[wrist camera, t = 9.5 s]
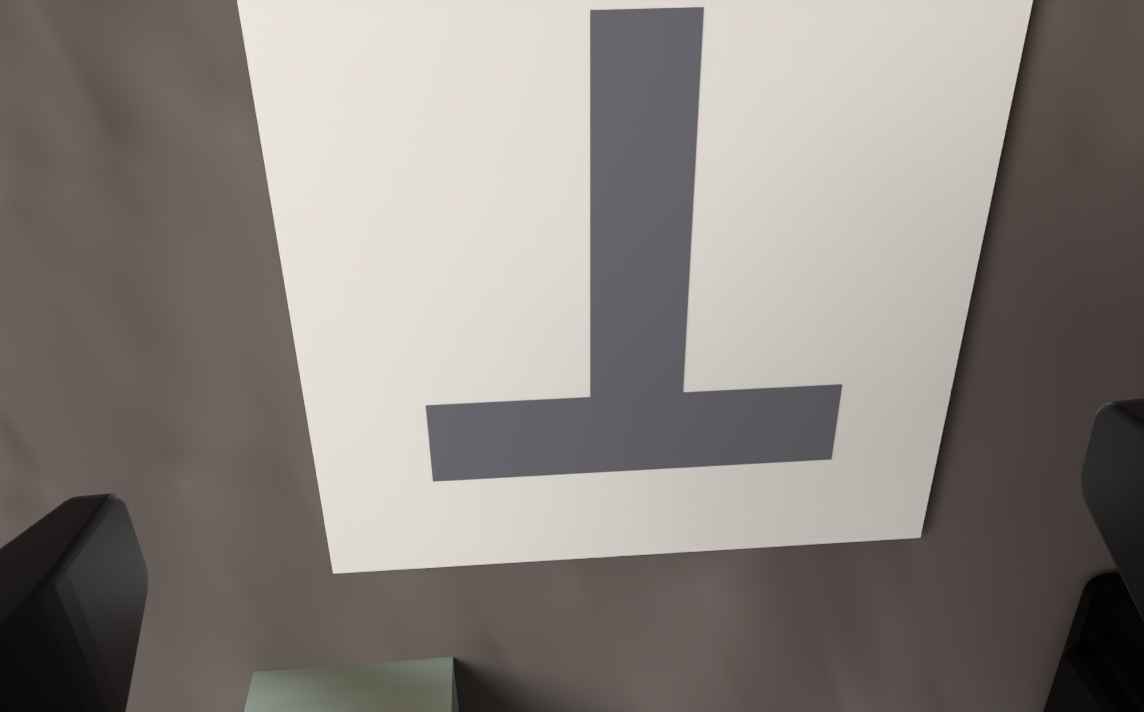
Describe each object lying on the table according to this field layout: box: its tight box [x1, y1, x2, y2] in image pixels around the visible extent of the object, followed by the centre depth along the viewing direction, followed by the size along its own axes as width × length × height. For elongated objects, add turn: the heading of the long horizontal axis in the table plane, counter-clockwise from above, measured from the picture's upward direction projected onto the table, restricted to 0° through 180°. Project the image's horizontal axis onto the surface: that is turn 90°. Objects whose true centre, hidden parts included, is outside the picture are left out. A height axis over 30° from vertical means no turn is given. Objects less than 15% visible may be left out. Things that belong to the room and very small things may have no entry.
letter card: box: [237, 0, 1033, 574], centre depth 21 cm, size 14×14×1 cm
